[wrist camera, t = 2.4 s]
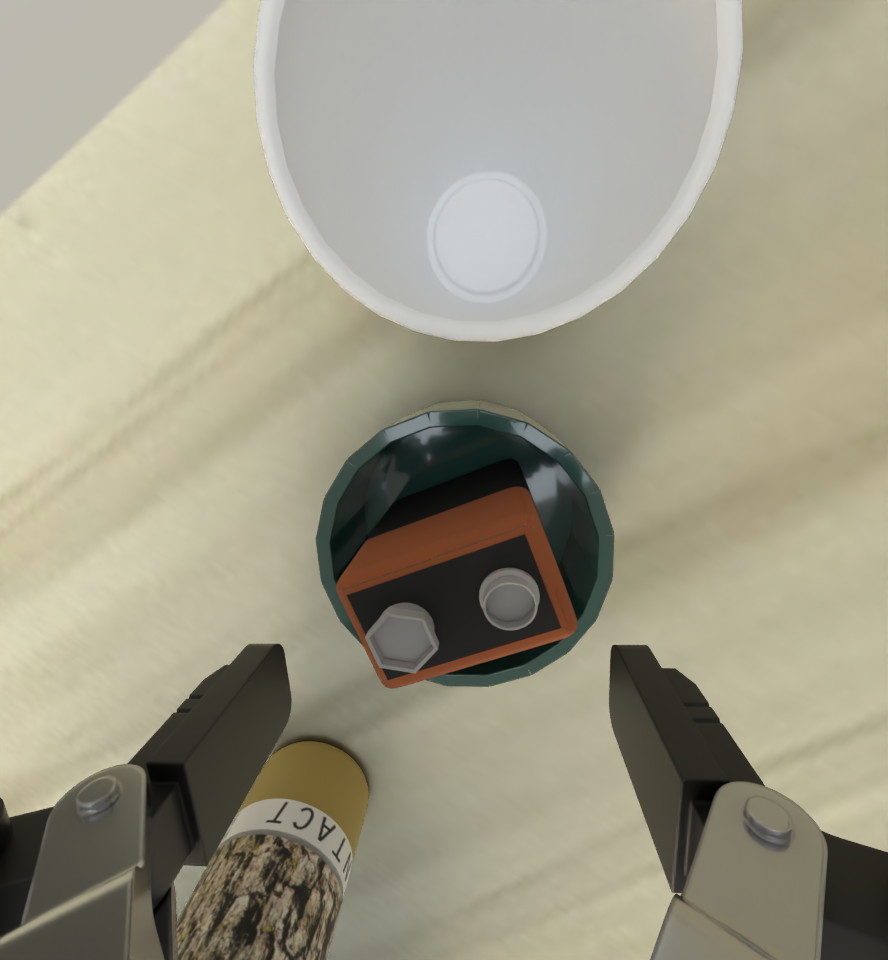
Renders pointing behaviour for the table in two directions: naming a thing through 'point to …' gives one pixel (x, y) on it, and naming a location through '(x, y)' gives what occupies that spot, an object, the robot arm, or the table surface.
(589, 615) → the green round bowl
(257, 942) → the paper tube
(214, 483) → the table surface
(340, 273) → the cup
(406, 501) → the battery
